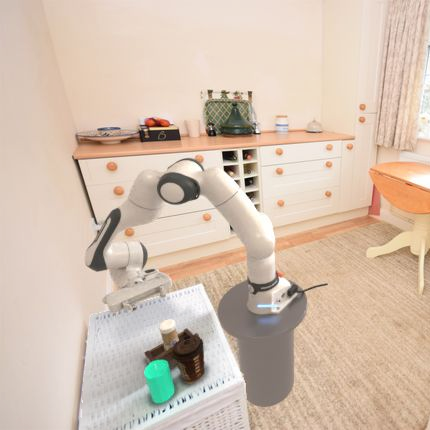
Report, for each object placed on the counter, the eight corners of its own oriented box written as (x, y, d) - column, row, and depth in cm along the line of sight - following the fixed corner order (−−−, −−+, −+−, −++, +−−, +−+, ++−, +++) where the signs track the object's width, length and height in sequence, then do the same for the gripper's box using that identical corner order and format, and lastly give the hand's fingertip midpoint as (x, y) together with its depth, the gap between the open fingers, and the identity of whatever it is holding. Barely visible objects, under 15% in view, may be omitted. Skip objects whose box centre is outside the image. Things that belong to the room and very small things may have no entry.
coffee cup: (190, 359, 95) (184, 329, 90) (213, 364, 94) (208, 334, 88) (172, 383, 87) (164, 352, 82) (197, 389, 86) (191, 358, 81)
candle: (147, 395, 84) (138, 366, 79) (167, 379, 88) (160, 351, 84) (158, 407, 81) (149, 378, 76) (178, 391, 85) (171, 362, 81)
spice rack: (188, 335, 104) (185, 320, 101) (201, 349, 99) (198, 334, 96) (146, 359, 94) (141, 344, 92) (158, 377, 89) (153, 361, 86)
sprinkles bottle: (174, 362, 94) (167, 331, 89) (163, 358, 95) (155, 327, 90) (184, 350, 98) (178, 320, 93) (173, 347, 99) (166, 317, 94)
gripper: (97, 290, 98) (111, 310, 90) (161, 266, 112) (177, 281, 104) (102, 305, 101) (116, 326, 93) (164, 279, 115) (180, 295, 107)
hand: (149, 302), depth 99 cm, fingers open, 8 cm apart
